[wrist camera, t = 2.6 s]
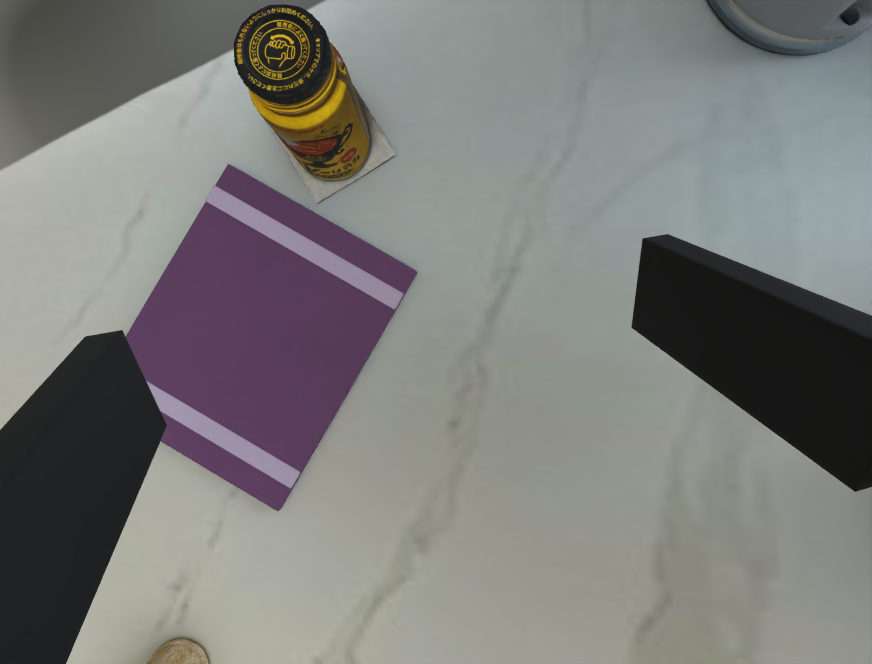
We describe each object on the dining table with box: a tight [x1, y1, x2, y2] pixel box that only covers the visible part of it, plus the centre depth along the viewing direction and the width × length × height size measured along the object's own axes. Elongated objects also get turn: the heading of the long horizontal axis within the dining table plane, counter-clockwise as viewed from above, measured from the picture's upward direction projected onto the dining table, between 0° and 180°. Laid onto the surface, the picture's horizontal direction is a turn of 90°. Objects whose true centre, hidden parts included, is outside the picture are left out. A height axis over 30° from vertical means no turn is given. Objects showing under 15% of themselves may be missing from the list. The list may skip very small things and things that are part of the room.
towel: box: [126, 164, 417, 511], centre depth 36 cm, size 21×17×1 cm
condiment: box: [234, 5, 396, 203], centre depth 31 cm, size 7×8×12 cm
